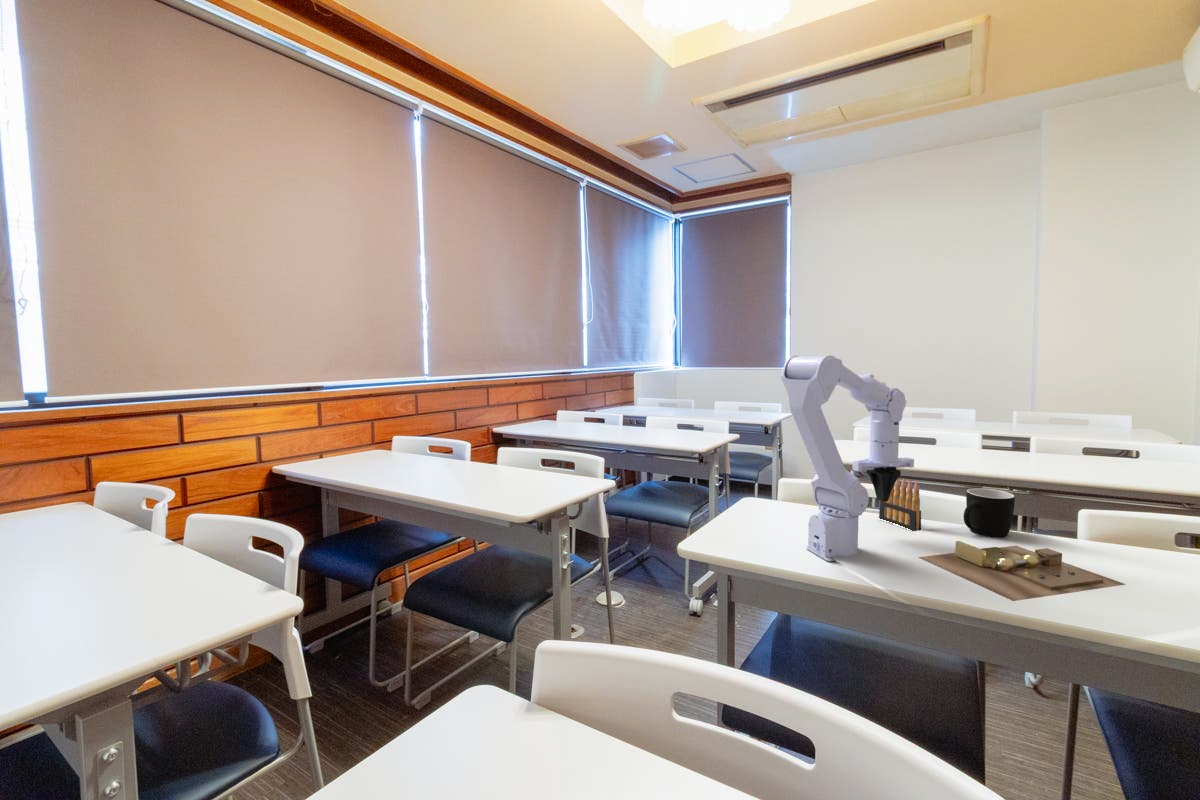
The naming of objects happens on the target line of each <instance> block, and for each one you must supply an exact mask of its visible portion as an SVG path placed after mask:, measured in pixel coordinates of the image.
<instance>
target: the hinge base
mask: <svg viewBox="0 0 1200 800" xmlns="http://www.w3.org/2000/svg"><path fill="white" fill-rule="evenodd" d="M1034 552H1035V554H1037V555H1038V556H1040V557H1044V556H1046V561H1044V562H1042V564H1046V567H1040V568H1032V569H1024V570H1017V571H1012V574H1013V575H1015V576H1017V577H1020V578H1022V579H1025V580H1027V581H1030V582H1032V583H1035V584H1037V585H1039V586H1042V587H1044V588H1047V589H1049V590H1055V589H1062V588H1069V587H1076V586H1083V585H1090V584H1097V583H1103V579H1101V578H1098V577H1096V576H1093V575H1090V574H1087V573H1084V572H1082V571H1079V570H1076V569H1073V568H1070V567H1068V566H1065V565H1062V562H1063V553H1062V552H1059V551H1057V550H1053V549H1051V548H1046V547H1044V548H1039V549H1034Z"/></svg>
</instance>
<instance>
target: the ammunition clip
mask: <svg viewBox="0 0 1200 800" xmlns="http://www.w3.org/2000/svg"><path fill="white" fill-rule="evenodd" d="M920 506H921V499H920V486H919V482H918V481H916V482H915V483H914V486H913V483H912V480H911V479H909V481H908V483H907V482H906V479H905V478H903V479H902V480H900V477H899V478H898V479H897V480H896V482H895V484H894V486H893V488H892V491H891V493H890V496H889V500H888V501H884V502H883V501H880V500H879V510H878V511H879V512H878V513H879V514H878V519H879V518H880V519H883V520H886V521H889V522H892V523H895V524H898V525H900V526H903V527H905V528H908V529H910V530H912V531H911V532H917V531H922V510H920V509H921V507H920ZM910 530H909V531H910Z"/></svg>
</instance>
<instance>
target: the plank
mask: <svg viewBox="0 0 1200 800" xmlns="http://www.w3.org/2000/svg"><path fill="white" fill-rule="evenodd" d="M998 548H1001V549H1004V550H1006V551H1009V552H1012V553H1014V554H1017V555H1020V556H1023V555H1031V554H1035V551H1032V550H1029V549H1027V548H1025V547H1022V546H1018V545H1011V546H1010V545H1009V546H1008V545H1007V546H1001V547H999V546H998ZM918 558H919V559H921V560H923V561H925V562H928V563H930V564H932V565H933V566H937V568H941V569H943V570H944V571H947V572H949V573H951V574H954V575H955V576H958V577H960V578H962V579H965V580H966V581H969V582H971V583H972V584H976V585H977V586H979V587H982V588H984V589H986V590H988V591H990V592H992V593H994V594H997V595H999V596H1001V597H1004V598H1005V599H1009V600H1010V601H1012V602H1014V601H1022V600H1030V599H1036V598H1042V597H1043V598H1044V597H1049V596H1055V595H1062V594H1068V593H1075V592H1076V593H1077V592H1083V591H1089V590H1090V591H1092V590H1096V589H1097V590H1099V589H1103V588H1110V587H1116V586H1117V587H1118V586H1125V585H1126V583H1123V582H1121V581H1119V580H1115V579H1112V578H1109V577H1106V576H1104V575H1101V574H1097V573H1095V572H1093V571H1089V570H1086V569H1084V568H1081V567H1078V566H1075V565H1073V564H1069V563H1067V562H1064V561H1062V565H1065V566H1068V567H1070V568H1073V569H1076V570H1079V571H1082V572H1084V573H1087V574H1090V575H1093V576H1096V577H1098V578H1101V579H1103V583H1097V584H1090V585H1083V586H1076V587H1069V588H1062V589H1055V590H1049V589H1047V588H1044V587H1042V586H1039V585H1037V584H1035V583H1032V582H1030V581H1027V580H1025V579H1022V578H1020V577H1017V576H1015V575H1013V574H1012V571H1017V570H1024V569H1032V568H1040V567H1046V564H1041V565H1040V566H1034V567H1025V566H1023V565H1021V566H1017V567H1016V568H1015V569H1011V570H1003V571H1002V570H999V569H994V568H991V567H986V566H983V567H982V566H979V565H977V564H975V563H972V562H970V561H967V560H965V559H963V558H960V557H958V556H955V552H951V553H942V554H933V555H925V556H918Z"/></svg>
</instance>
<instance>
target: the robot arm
mask: <svg viewBox="0 0 1200 800" xmlns="http://www.w3.org/2000/svg"><path fill="white" fill-rule="evenodd" d="M780 379H781V381H782V383H783V386H784V388H785V390H786V393H787V397H788V405H789V409H790V412H791V415H792V417H793V420H794V421H795V422H794V423H795V425H796V427H797V429H798V432H799V434H800V436H801V439H802V441H803V444H804V447H805V448H806V451H807V453H808V456H809V459H810V460H811V462H812V465H813V467H814V470H815V471H816V474H815V475H814V476H813V478H812V480H811V481H810V484H811V487H812V496H813V500H814V502H815V504H816V505H818V510H819V511H820V512H819V513H815V514H813V515H811V516H810V517H809V519H808V533H807V534H808V537H807V538H808V539H807V540H808V541H807V542H808V543H807V546H805V549H806V550H808V551H810V552H812V554H815V555H816V556H818V557H820V558H821V559H823V560H825V561H827V562H835V561H837V560H836V559H835V558H834V557H849V556H854V555H856V554H858V551H859V549H858V547H859V546H858V545H859V543H858V542H859V517H860V516H862V514H863V513H864V512H865V511H866V510H867V508H868V505H869V502H870V497H869V492H868V489H867V488H866V487H865V486H864V485H863V484H862V483H861V481H860V479H859V478H858V477H857V476H856V475H854V474H853V473H852V472H850V471H849V470H848V469H846V467H845V465H844V463H843V460H842V457H841V454H840V452H839V449H838V447H837V445H836V442H835V439H834V437H833V435H832V432H831V430H830V428H829V424H828V423H827V419H826V417H825V414H824V413H823V409H822V405H824V404H826V403H827V402H828V401H829V399H830V398H831V395H832V394H833V392H834V390H835V388H836V387H837V386H839V387H842V388H844V389H846V390H848V394H849V396H850V397H851V398H852V399H854V400H856V401H857V402H860V403H861V404H863V405H864V407H865V409H866V410H867V412H870V417H869V418H870V422H869V423H870V424H869V426H870V427H869V455H868V457H869V458H865V459H861V460H853V461H852V471H855V472H863V471H865V472H866V473H867V475H868V477H869V478H870V480H871V483H872V486H873V489H874V493H875V497H876V500H878V501H879V502H880V501H883V502H884V501H888V500H889V496H890V493H891V491H892V488H893V486H894V487H895V482H896V480H897V479H898V478H899V479H900V476H901V474H902V473H901V468H915V458H911V457H899V444H900V443H899V441H900V439H899V438H900V422H901V421H902V419H903V412H904V411H905V408H906V405H907V400H906V396H905V394H904V392H903V391H902V390H900V389H899V388H895V387H894V388H893V387H889V386H887V383H885V382H883V381H879V380H877V379H875V376H874V374H871V373H864V374H859V375H858V374H857V373H855V372H854V371H852V370H851V369H850V368H849V367H847V366H846V365H844V363H843V361H842V359H840V358H837V357H836V356H834V355H831V354H829V355H822V356H821V355H815V356H812V355H808V356H805V355H803V356H800V355H792V356H790V357H788V358H787V359H786V361H785V362H784V365H783V367H782V370H781V375H780ZM899 468H900V470H899Z"/></svg>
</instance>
